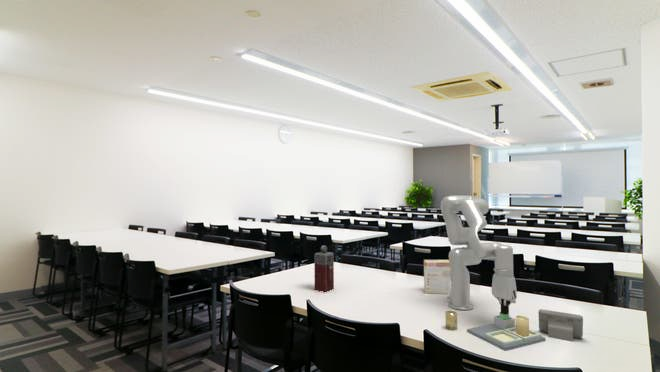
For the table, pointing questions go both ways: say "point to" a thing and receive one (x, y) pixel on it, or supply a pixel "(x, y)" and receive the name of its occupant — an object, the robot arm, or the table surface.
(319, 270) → the square decanter bottle
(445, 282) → the coffeecake box
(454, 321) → the cylinder
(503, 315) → the button
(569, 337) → the digital clock
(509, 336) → the station
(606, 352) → the table surface
